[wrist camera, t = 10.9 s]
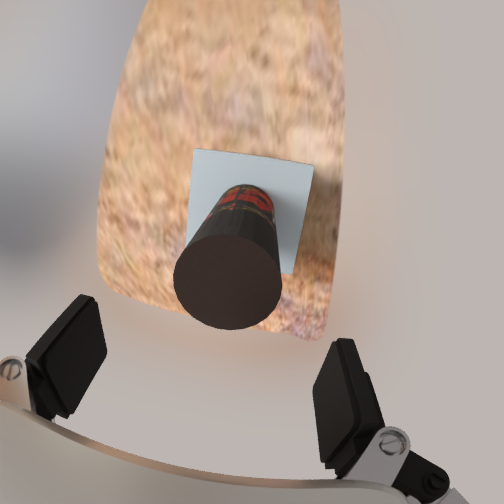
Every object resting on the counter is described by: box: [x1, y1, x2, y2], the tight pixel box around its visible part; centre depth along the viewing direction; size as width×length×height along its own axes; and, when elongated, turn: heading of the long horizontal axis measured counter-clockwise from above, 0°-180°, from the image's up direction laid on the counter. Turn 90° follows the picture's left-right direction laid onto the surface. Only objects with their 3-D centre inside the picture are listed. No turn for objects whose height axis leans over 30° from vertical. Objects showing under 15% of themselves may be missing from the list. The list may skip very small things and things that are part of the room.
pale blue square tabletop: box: [186, 148, 314, 275], centre depth 32 cm, size 12×12×7 cm
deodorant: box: [173, 184, 282, 330], centre depth 22 cm, size 6×6×15 cm
